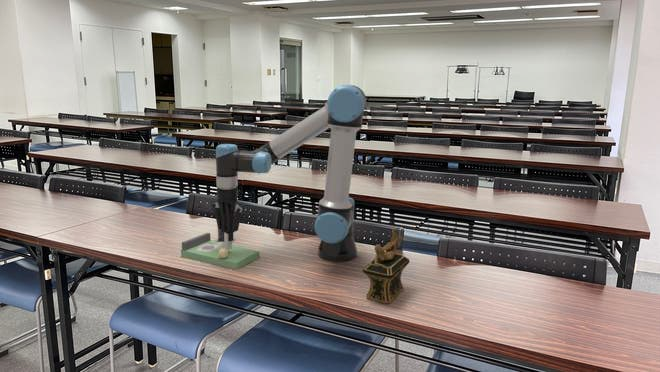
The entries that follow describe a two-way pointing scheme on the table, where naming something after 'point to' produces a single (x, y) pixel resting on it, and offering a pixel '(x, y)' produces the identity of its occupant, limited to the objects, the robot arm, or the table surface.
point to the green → (208, 252)
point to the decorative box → (386, 272)
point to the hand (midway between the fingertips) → (228, 248)
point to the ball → (220, 245)
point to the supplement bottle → (220, 235)
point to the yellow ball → (223, 253)
